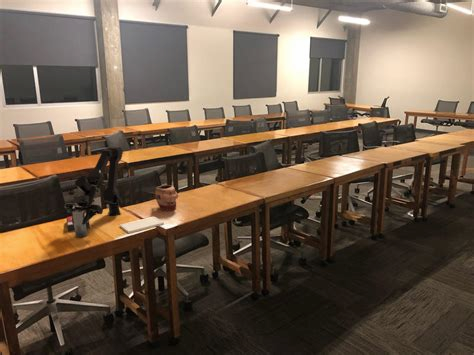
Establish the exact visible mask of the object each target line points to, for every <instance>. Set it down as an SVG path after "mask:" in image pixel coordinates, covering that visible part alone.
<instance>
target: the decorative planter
mask: <svg viewBox="0 0 474 355" xmlns="http://www.w3.org/2000/svg"><path fill="white" fill-rule="evenodd" d="M154 191H155V193H154V199H155V200H156V203H157V205H158V208H159V209H160V210H162V211H173V210H176V208H177V199H178V198H179V195H178V192H177V191H176V189H175V187H174V185H171V184H163V185H159V186H156V187H155V190H154Z"/></svg>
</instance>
